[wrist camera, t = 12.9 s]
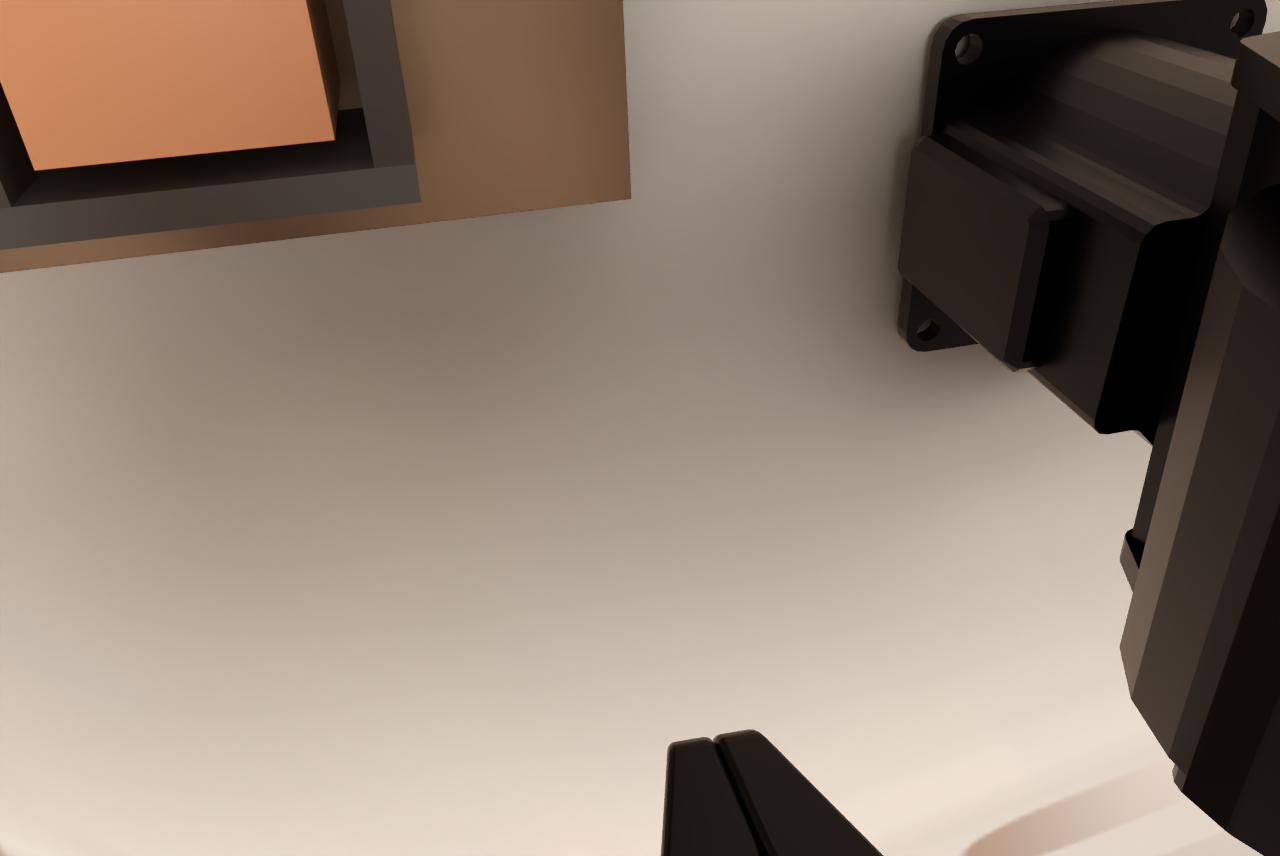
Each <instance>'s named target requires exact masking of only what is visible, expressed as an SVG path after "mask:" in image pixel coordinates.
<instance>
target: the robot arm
mask: <svg viewBox="0 0 1280 856" xmlns="http://www.w3.org/2000/svg"><path fill="white" fill-rule="evenodd" d="M1238 12H1239V18H1238V20H1237V22H1236V24H1235V26H1234V27H1233V28H1232V29H1231V30H1230V23H1231V21H1232V19H1233V17H1234V16H1235V15H1236V14H1237V13H1238ZM1266 15H1267V7H1266V3H1265V0H1119V1H1107V2H1096V3H1085V4H1074V5H1063V6H1052V7H1040V8H1029V9H1018V10H1007V11H996V12H985V13H973V14H962V15H959V16H955V17H952V18H950V19H949V20H948V21H946V22H945V23H944V24H943V25H942V26H941V27H940V29H939V30H938V32H937V33H936V35H935V37H934V40H933V44H932V47H931V55H930V63H929V72H928V80H927V88H926V96H925V104H924V113H923V121H922V129H921V137H920V139H919V141H918V142H917V143H916V145H915V146H914V148H913V149H912V152H911V160H910V168H909V177H908V185H907V194H906V202H905V211H904V219H903V228H902V236H901V245H900V253H899V262H898V270H899V272H900V273H901V274H902V275H903V276H904V277H903V285H902V293H901V301H900V309H899V317H898V333H899V335H900V336H901V338H902V339H903V340H904V341H905V342H906V343H907V344H908V345H909V346H910V347H911V348H912V349H914V350H916V351H922V352H927V351H933V350H940V349H946V348H953V347H959V346H966V345H972V344H980V345H981V346H982V347H983V348H985V349H986V350H987V351H988V352H989V353H990V354H991V355H992V356H993V357H995V358H996V359H997V360H998V361H999V362H1000V363H1001V364H1002V365H1004V366H1005V367H1006V368H1007V369H1008V370H1010V371H1012V372H1018V371H1024V370H1027V371H1028V372H1029V373H1030V374H1031V375H1032V376H1033V377H1035V378H1036V379H1037V380H1038V381H1039V382H1040V383H1042V384H1043V385H1044V386H1045V387H1046V388H1047V389H1048V390H1050V391H1051V392H1052V393H1053V394H1054V395H1055V396H1057V397H1058V398H1059V399H1060V400H1061V401H1062V402H1063V403H1065V404H1066V405H1067V406H1068V407H1069V408H1070V409H1072V410H1073V411H1074V412H1075V413H1076V414H1077V415H1078V416H1080V417H1081V418H1082V419H1083V420H1084V421H1085V422H1087V423H1088V424H1089V425H1090V426H1091V427H1092V428H1093V429H1095V430H1096V431H1097V432H1098V433H1099V434H1112V433H1118V432H1123V431H1129V430H1133V431H1134V432H1136V433H1137V434H1138V435H1139V436H1140V437H1142V438H1143V439H1144V440H1145V441H1146V442H1148V443H1149V444H1150V445H1151V446H1153V448H1152V452H1151V457H1150V461H1149V465H1148V469H1147V473H1146V478H1145V482H1144V486H1143V490H1142V494H1141V499H1140V503H1139V507H1138V511H1137V515H1136V520H1135V524H1134V528H1133V529H1131V530H1129V531H1127V533H1126V534H1125V538H1124V542H1123V546H1122V550H1121V555H1120V562H1121V565H1122V567H1123V570H1124V572H1125V574H1126V577H1127V579H1128V582H1129V584H1130V587H1131V589H1132V591H1133V595H1132V599H1131V603H1130V607H1129V611H1128V615H1127V619H1126V624H1125V628H1124V632H1123V636H1122V640H1121V644H1120V651H1121V656H1122V660H1123V665H1124V669H1125V674H1126V678H1127V683H1128V687H1129V692H1130V696H1131V699H1132V701H1133V703H1134V704H1135V706H1136V707H1137V709H1138V710H1139V712H1140V713H1141V715H1142V717H1143V718H1144V720H1145V721H1146V723H1147V724H1148V726H1149V727H1150V729H1151V731H1152V732H1153V734H1154V735H1155V737H1156V738H1157V740H1158V741H1159V743H1160V745H1161V746H1162V748H1163V749H1164V751H1165V752H1166V754H1167V755H1168V757H1169V758H1170V759H1171V760H1172V761H1173V762H1174V763H1175V765H1174V768H1173V771H1172V772H1173V778H1174V782H1175V784H1176V785H1177V786H1178V788H1179V789H1180V791H1181V792H1182V793H1183V794H1184V795H1185V796H1186V797H1188V798H1189V799H1190V800H1191V801H1192V802H1193V803H1194V804H1196V805H1197V806H1198V807H1199V808H1200V809H1201V810H1202V811H1204V812H1205V813H1206V814H1207V815H1208V816H1209V817H1210V818H1212V819H1213V820H1214V821H1215V822H1216V823H1217V824H1218V825H1220V826H1221V827H1222V828H1223V829H1224V830H1225V831H1226V832H1228V833H1229V834H1231V835H1232V836H1233V837H1235V838H1237V839H1238V840H1240V841H1241V842H1243V843H1245V844H1246V845H1248V846H1249V847H1251V848H1253V849H1254V850H1256V851H1257V852H1259V853H1260V854H1262V855H1264V856H1280V31H1279V32H1273V33H1268V34H1262V32H1263V28H1264V25H1265V21H1266ZM966 35H970V40H971V44H970V47H969V50H968V52H967V53H966V54H965V55H964V56H963V57H962V58H959V59H956V55H955V50H956V47H957V44H958V42H959V41H960V40H961V39H962V38H963V37H964V36H966ZM929 319H931V322H930V324H929V326H928V327H927V328H926V329H925V330H924V331H922V332H919V333H917V331H918V329H919V326H920V325H921V324H922V323H923V322H924V321H926V320H929ZM661 856H883V855H882V854H881V853H880V852H879V851H878V850H877V849H876V848H875V847H874V846H873V845H872V844H871V843H870V842H869V841H868V840H867V839H866V838H865V837H864V836H863V835H862V834H861V833H860V832H859V831H858V830H857V829H856V828H855V827H854V826H853V825H852V824H851V823H850V822H849V821H848V820H847V819H846V818H845V817H844V816H843V815H842V814H841V813H840V812H839V811H838V810H837V809H836V808H835V807H834V806H833V805H832V804H831V803H830V802H829V801H828V800H827V799H826V798H825V797H824V796H823V795H822V794H821V793H820V792H819V791H818V790H817V789H816V788H815V787H814V786H813V785H812V784H811V783H810V782H809V781H808V780H807V779H806V778H805V777H804V776H803V775H802V774H801V773H800V772H799V771H798V770H797V769H796V768H795V767H794V766H793V765H792V764H791V763H790V761H789V760H788V759H787V758H786V757H785V756H784V755H783V754H782V753H781V752H780V751H779V750H778V749H777V748H776V747H775V746H774V745H773V744H772V743H771V742H770V741H769V740H768V739H767V738H766V737H765V736H763V735H762V734H761V733H760V732H758V731H755V730H743V731H737V732H731V733H725V734H720V735H717V736H716V737H715V738H714V739H713V741H712V740H711V739H710V738H707V737H701V738H695V739H689V740H683V741H677V742H673V743H671V744H670V745H669V747H668V751H667V766H666V782H665V798H664V814H663V830H662V846H661Z"/></svg>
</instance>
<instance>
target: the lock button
mask: <svg viewBox="0 0 1280 856" xmlns="http://www.w3.org/2000/svg"><path fill="white" fill-rule="evenodd" d="M0 82H1V84H2V87H3V90H4V92H5V95H6V97H7V100H8V103H9V105H10V108H11V110H12V113H13V116H14V118H15V121H16V123H17V126H18V129H19V131H20V134H21V136H22V139H23V142H24V144H25V147H26V149H27V152H28V155H29V157H30V160H31V162H32V165H33V168H34V170H35V171H36V170H46V169H55V168H65V167H75V166H85V165H95V164H105V163H115V162H124V161H134V160H144V159H154V158H164V157H174V156H184V155H193V154H203V153H213V152H223V151H233V150H243V149H253V148H262V147H272V146H282V145H292V144H302V143H312V142H322V141H331V140H335V135H336V125H337V115H338V104H339V94H340V84H341V81H340V76H339V71H338V66H337V61H336V56H335V51H334V46H333V41H332V36H331V31H330V26H329V21H328V16H327V11H326V6H325V1H324V0H0Z"/></svg>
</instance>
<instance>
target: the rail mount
mask: <svg viewBox="0 0 1280 856" xmlns="http://www.w3.org/2000/svg"><path fill="white" fill-rule="evenodd" d="M324 1H325V6H326V11H327V16H328V21H329V26H330V31H331V36H332V41H333V46H334V51H335V56H336V61H337V66H338V71H339V76H340V81H341V84H340V94H339V104H338V115H337V125H336V135H335V140H331V141H322V142H312V143H302V144H292V145H282V146H272V147H262V148H253V149H243V150H233V151H223V152H213V153H203V154H193V155H184V156H174V157H164V158H154V159H144V160H134V161H124V162H115V163H105V164H95V165H85V166H75V167H65V168H55V169H46V170H36V171H35V170H34V168H33V165H32V162H31V160H30V157H29V155H28V152H27V149H26V147H25V144H24V142H23V139H22V136H21V134H20V131H19V129H18V126H17V123H16V121H15V118H14V116H13V113H12V110H11V108H10V105H9V103H8V100H7V97H6V95H5V92H4V90H3V87H2V84H1V82H0V273H4V272H12V271H21V270H29V269H38V268H46V267H55V266H63V265H72V264H80V263H89V262H97V261H106V260H114V259H123V258H131V257H140V256H148V255H157V254H165V253H174V252H182V251H191V250H199V249H208V248H216V247H225V246H233V245H242V244H250V243H259V242H267V241H276V240H284V239H293V238H301V237H310V236H319V235H327V234H336V233H344V232H353V231H361V230H370V229H378V228H387V227H395V226H404V225H412V224H421V223H429V222H438V221H446V220H455V219H463V218H472V217H480V216H489V215H497V214H506V213H514V212H523V211H531V210H540V209H548V208H557V207H565V206H574V205H582V204H591V203H599V202H608V201H616V200H625V199H631V184H630V161H629V138H628V114H627V91H626V68H625V44H624V21H623V0H324Z"/></svg>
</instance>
